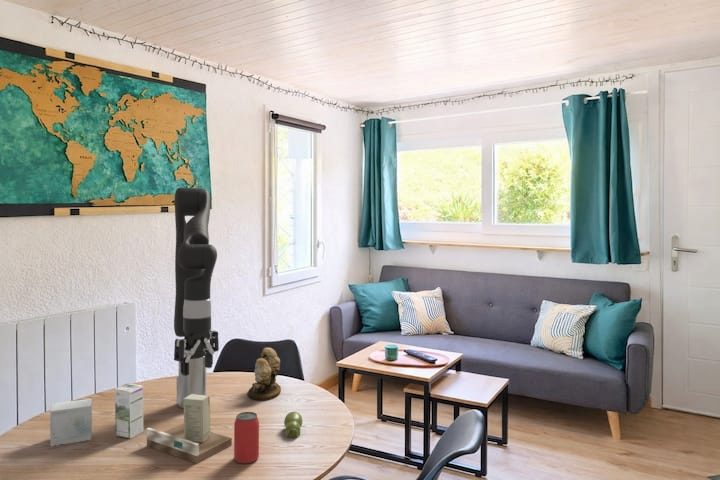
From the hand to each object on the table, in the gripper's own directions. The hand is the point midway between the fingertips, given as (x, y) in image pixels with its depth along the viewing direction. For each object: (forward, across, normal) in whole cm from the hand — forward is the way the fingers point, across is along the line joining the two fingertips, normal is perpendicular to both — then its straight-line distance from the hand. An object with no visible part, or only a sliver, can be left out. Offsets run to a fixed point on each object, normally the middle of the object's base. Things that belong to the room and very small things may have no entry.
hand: (197, 371), depth 147 cm
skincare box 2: (+20, 0, 0) cm, 20 cm away
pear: (+22, +22, -18) cm, 36 cm away
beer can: (+22, +1, -18) cm, 28 cm away
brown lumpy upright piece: (+22, +45, +13) cm, 52 cm away
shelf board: (+22, -1, +2) cm, 22 cm away
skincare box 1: (+22, -16, +34) cm, 44 cm away
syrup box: (+22, -5, +23) cm, 32 cm away
